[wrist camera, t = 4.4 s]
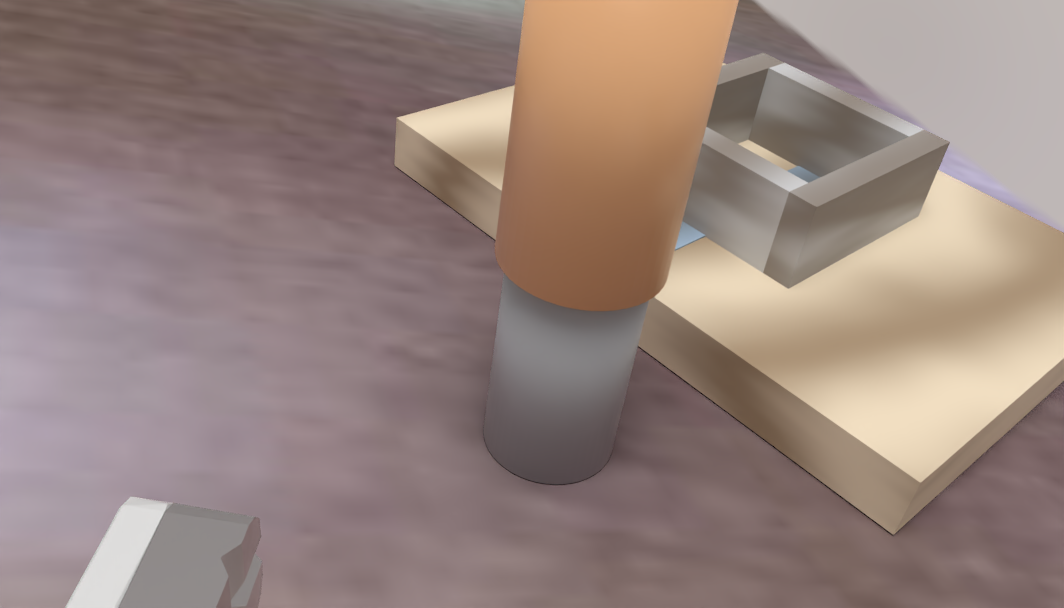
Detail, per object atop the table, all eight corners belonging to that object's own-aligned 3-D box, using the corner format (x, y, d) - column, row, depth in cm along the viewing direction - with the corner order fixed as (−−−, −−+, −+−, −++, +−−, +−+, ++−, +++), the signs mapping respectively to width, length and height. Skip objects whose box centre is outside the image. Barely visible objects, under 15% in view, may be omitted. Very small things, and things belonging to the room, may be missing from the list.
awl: (441, 422, 27) (492, -107, 19) (551, 365, 30) (640, -125, 22) (544, 518, 25) (654, -34, 17) (654, 448, 28) (798, -63, 19)
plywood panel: (394, 165, 38) (400, 40, 35) (669, 80, 48) (692, -24, 45) (893, 534, 26) (967, 394, 23) (1127, 323, 36) (1200, 204, 33)
